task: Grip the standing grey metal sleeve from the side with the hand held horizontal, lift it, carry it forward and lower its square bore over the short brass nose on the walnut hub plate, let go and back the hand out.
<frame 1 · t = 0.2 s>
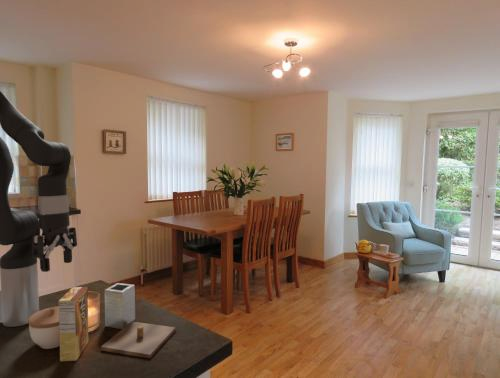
hand: (57, 266, 96), 18 cm above the kitchen island, tool pointing down, fingers open, 8 cm apart
hub plate: (140, 340, 91), on the kitchen island
lidded jar: (53, 343, 89), on the kitchen island
candy box: (75, 352, 85), on the kitchen island
steel sleeve: (120, 323, 100), on the kitchen island
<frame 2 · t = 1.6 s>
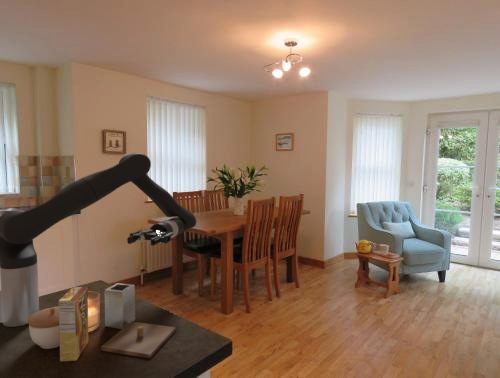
hand: (140, 241, 109), 22 cm above the kitchen island, tool horizontal, fingers open, 8 cm apart
nothing on the kitchen island moved.
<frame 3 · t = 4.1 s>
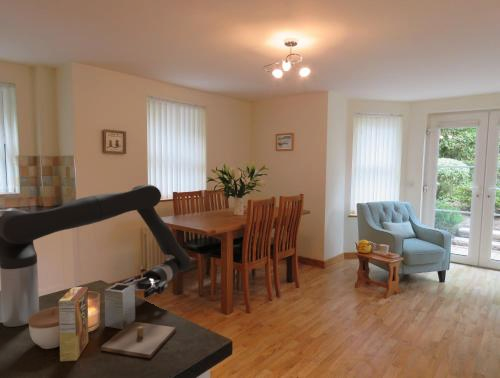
hand: (133, 293, 106), 6 cm above the kitchen island, tool horizontal, fingers open, 8 cm apart
nothing on the kitchen island moved.
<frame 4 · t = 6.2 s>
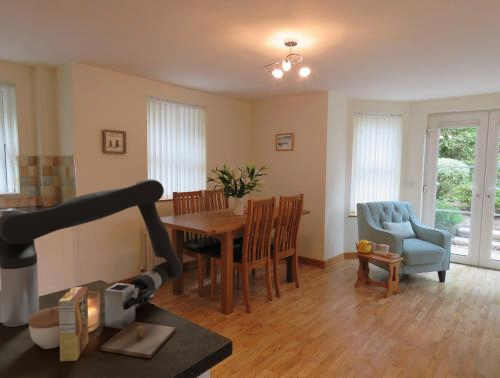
hand: (115, 305, 97), 7 cm above the kitchen island, tool horizontal, fingers closed on steel sleeve, 6 cm apart
steel sleeve: (120, 323, 100), on the kitchen island, touching gripper
everything else where it was.
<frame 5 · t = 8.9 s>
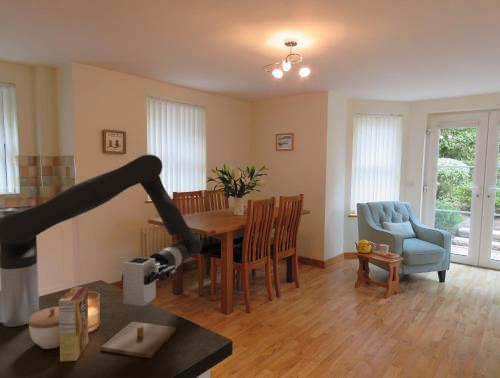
hand: (134, 280, 87), 18 cm above the kitchen island, tool horizontal, fingers closed on steel sleeve, 6 cm apart
steel sleeve: (140, 300, 90), point 11 cm above the kitchen island, touching gripper
everything else where it was.
when the fingers open (8 cm above the kitchen island, at t = 11.5 s): steel sleeve stays where it is, resting on hub plate.
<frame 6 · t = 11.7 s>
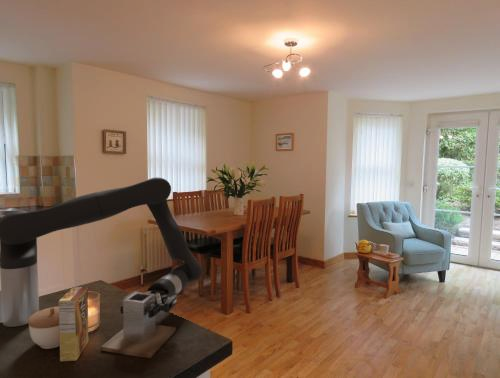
hand: (135, 312, 88), 9 cm above the kitchen island, tool horizontal, fingers open, 8 cm apart
steel sleeve: (140, 336, 91), point 1 cm above the kitchen island, touching hub plate
everything else where it was.
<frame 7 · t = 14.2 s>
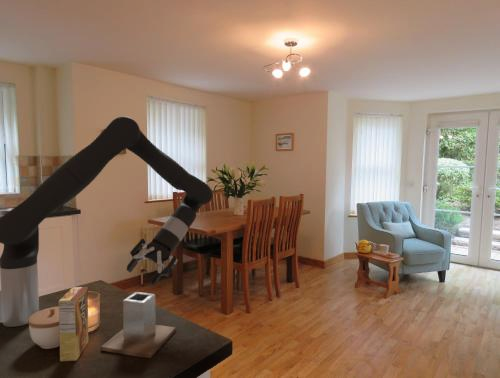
hand: (139, 277, 100), 14 cm above the kitchen island, tool tilted 45°, fingers open, 8 cm apart
nothing on the kitchen island moved.
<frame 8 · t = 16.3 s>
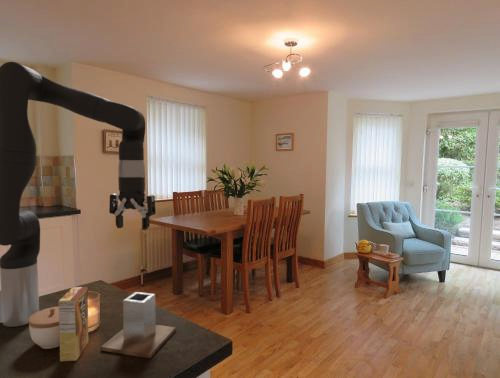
hand: (132, 228, 101), 28 cm above the kitchen island, tool pointing down, fingers open, 8 cm apart
nothing on the kitchen island moved.
at the end: steel sleeve 0.1 cm off-centre on the hub plate, point 1.0 cm above the hub plate's base; steel sleeve tilted 0°; the gripper is holding nothing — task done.
